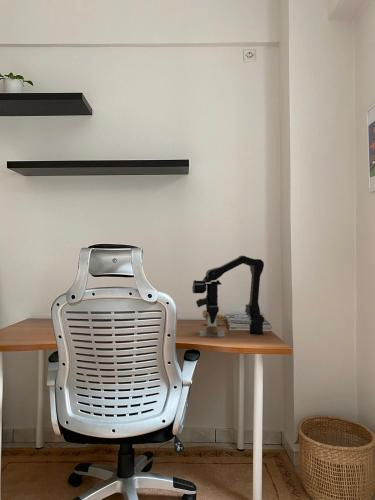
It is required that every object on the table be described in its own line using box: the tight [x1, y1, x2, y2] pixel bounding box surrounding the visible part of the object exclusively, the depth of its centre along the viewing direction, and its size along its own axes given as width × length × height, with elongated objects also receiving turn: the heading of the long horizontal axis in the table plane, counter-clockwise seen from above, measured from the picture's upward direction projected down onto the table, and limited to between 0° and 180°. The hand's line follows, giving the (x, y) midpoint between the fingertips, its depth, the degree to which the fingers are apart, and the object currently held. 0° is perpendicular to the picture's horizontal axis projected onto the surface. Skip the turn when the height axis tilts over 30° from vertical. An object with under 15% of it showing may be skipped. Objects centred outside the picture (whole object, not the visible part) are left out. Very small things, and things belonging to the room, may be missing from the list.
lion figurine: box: [202, 309, 228, 327], centre depth 228 cm, size 15×5×9 cm, turn 84°
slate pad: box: [199, 330, 226, 337], centre depth 201 cm, size 13×14×1 cm
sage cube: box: [207, 316, 218, 327], centre depth 201 cm, size 4×4×4 cm
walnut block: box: [205, 326, 219, 335], centre depth 201 cm, size 6×6×3 cm
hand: (212, 322), depth 201 cm, fingers open, 5 cm apart
